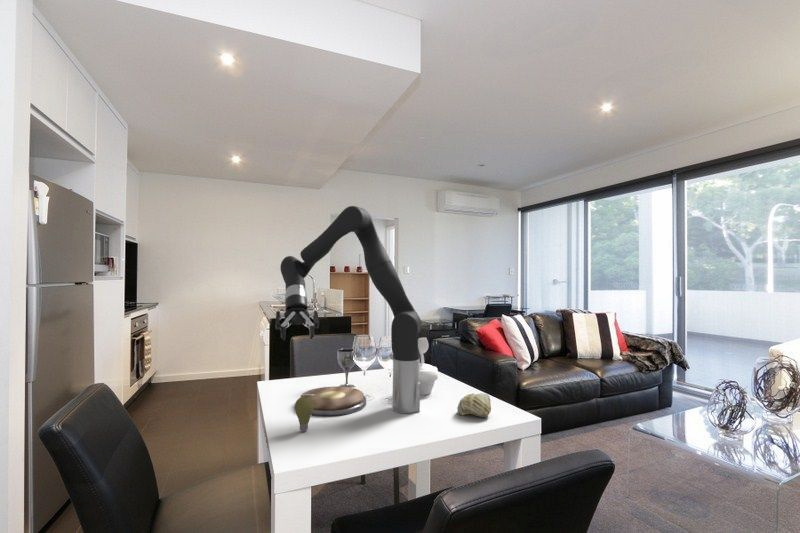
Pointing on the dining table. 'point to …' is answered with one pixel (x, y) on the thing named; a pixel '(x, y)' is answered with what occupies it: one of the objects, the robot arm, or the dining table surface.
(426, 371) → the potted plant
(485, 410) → the seashell
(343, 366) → the wine glass
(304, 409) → the light bulb
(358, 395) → the turntable platter
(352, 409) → the turntable base
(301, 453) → the dining table surface
